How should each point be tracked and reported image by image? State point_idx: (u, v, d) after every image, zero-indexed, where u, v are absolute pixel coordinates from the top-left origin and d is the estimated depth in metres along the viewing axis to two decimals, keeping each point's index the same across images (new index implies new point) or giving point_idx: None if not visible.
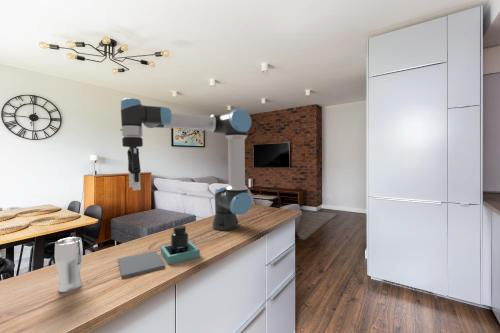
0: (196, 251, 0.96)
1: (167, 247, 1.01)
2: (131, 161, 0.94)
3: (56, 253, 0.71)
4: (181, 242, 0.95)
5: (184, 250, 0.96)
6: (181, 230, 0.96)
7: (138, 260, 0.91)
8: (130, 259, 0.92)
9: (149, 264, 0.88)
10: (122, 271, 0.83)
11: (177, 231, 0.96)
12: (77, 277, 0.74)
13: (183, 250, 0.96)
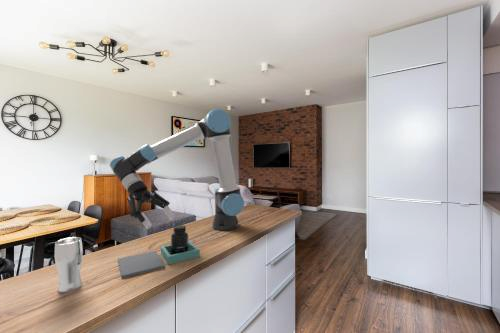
0: (196, 251, 0.96)
1: (167, 247, 1.01)
2: None
3: (56, 253, 0.71)
4: (181, 242, 0.95)
5: (184, 250, 0.96)
6: (181, 230, 0.96)
7: (138, 260, 0.91)
8: (130, 259, 0.92)
9: (149, 264, 0.88)
10: (122, 271, 0.83)
11: (177, 231, 0.96)
12: (77, 277, 0.74)
13: (183, 250, 0.96)
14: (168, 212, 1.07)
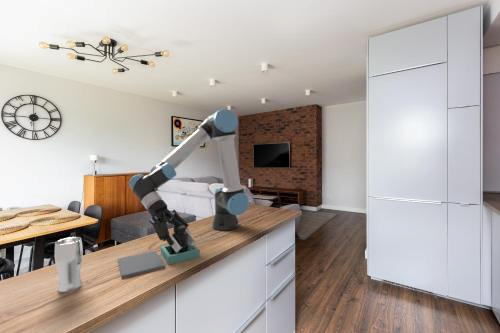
0: (196, 251, 0.96)
1: (167, 247, 1.01)
2: (161, 227, 0.97)
3: (56, 253, 0.71)
4: (181, 242, 0.95)
5: (184, 250, 0.96)
6: (181, 230, 0.96)
7: (138, 260, 0.91)
8: (130, 259, 0.92)
9: (149, 264, 0.88)
10: (122, 271, 0.83)
11: (177, 231, 0.96)
12: (77, 277, 0.74)
13: (183, 250, 0.96)
14: (188, 235, 1.02)
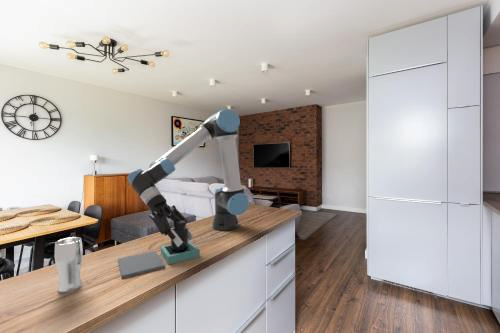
0: (196, 251, 0.96)
1: (167, 247, 1.01)
2: None
3: (56, 253, 0.71)
4: (181, 237, 0.95)
5: (184, 245, 0.96)
6: (181, 225, 0.96)
7: (138, 260, 0.91)
8: (130, 259, 0.92)
9: (149, 264, 0.88)
10: (122, 271, 0.83)
11: (177, 226, 0.96)
12: (77, 277, 0.74)
13: (183, 245, 0.96)
14: None
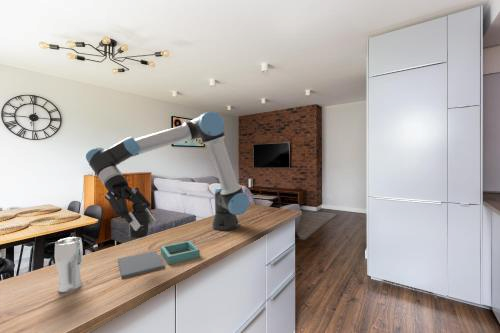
0: (196, 251, 0.96)
1: (167, 247, 1.01)
2: (120, 204, 0.89)
3: (56, 253, 0.71)
4: (140, 220, 0.87)
5: (143, 229, 0.87)
6: (140, 207, 0.87)
7: (138, 260, 0.91)
8: (130, 259, 0.92)
9: (149, 264, 0.88)
10: (122, 271, 0.83)
11: (136, 208, 0.87)
12: (77, 277, 0.74)
13: (142, 229, 0.87)
14: None
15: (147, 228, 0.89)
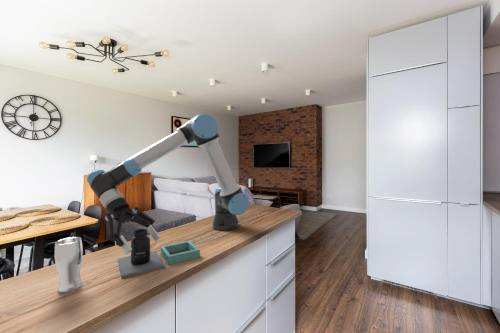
0: (196, 251, 0.96)
1: (167, 247, 1.01)
2: None
3: (56, 253, 0.71)
4: (142, 247, 0.87)
5: (145, 256, 0.88)
6: (141, 234, 0.88)
7: None
8: (130, 259, 0.92)
9: (149, 264, 0.88)
10: (122, 271, 0.83)
11: (137, 235, 0.88)
12: (77, 277, 0.74)
13: (143, 256, 0.88)
14: (152, 232, 0.96)
15: (148, 254, 0.90)
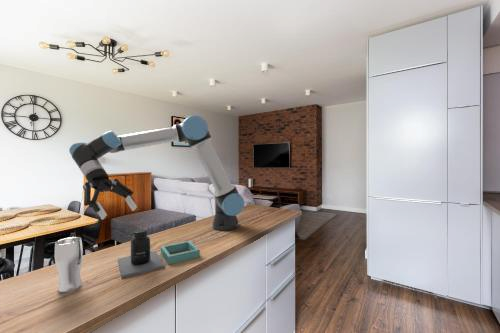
0: (196, 251, 0.96)
1: (167, 247, 1.01)
2: None
3: (56, 253, 0.71)
4: (141, 247, 0.87)
5: (145, 256, 0.88)
6: (141, 234, 0.88)
7: None
8: (130, 259, 0.92)
9: (149, 264, 0.88)
10: (122, 271, 0.83)
11: (137, 235, 0.88)
12: (77, 277, 0.74)
13: (143, 256, 0.88)
14: (130, 202, 1.02)
15: (148, 254, 0.90)
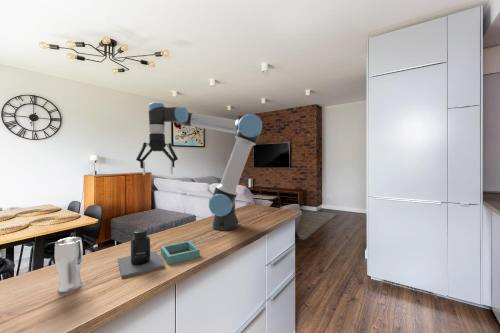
0: (196, 251, 0.96)
1: (167, 247, 1.01)
2: None
3: (56, 253, 0.71)
4: (141, 247, 0.87)
5: (145, 256, 0.88)
6: (141, 234, 0.88)
7: None
8: (130, 259, 0.92)
9: (149, 264, 0.88)
10: (122, 271, 0.83)
11: (137, 235, 0.88)
12: (77, 277, 0.74)
13: (143, 256, 0.88)
14: (170, 167, 1.27)
15: (148, 254, 0.90)
